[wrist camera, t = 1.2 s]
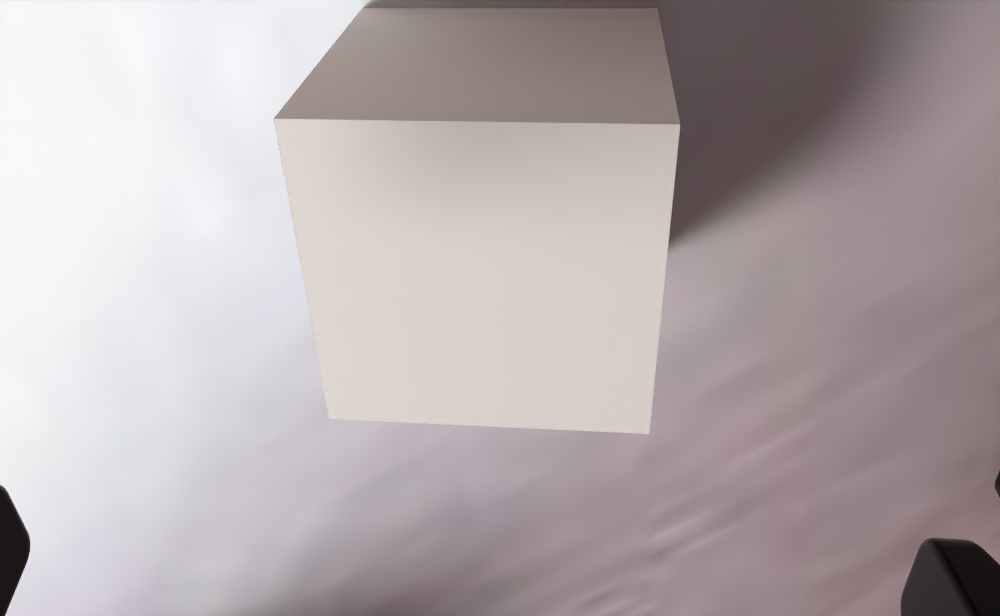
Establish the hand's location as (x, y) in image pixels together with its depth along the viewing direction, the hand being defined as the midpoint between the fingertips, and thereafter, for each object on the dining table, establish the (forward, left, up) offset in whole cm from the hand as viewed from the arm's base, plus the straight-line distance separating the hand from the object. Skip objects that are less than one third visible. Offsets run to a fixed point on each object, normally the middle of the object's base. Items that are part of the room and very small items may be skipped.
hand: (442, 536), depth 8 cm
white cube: (0, 0, -9) cm, 9 cm away
